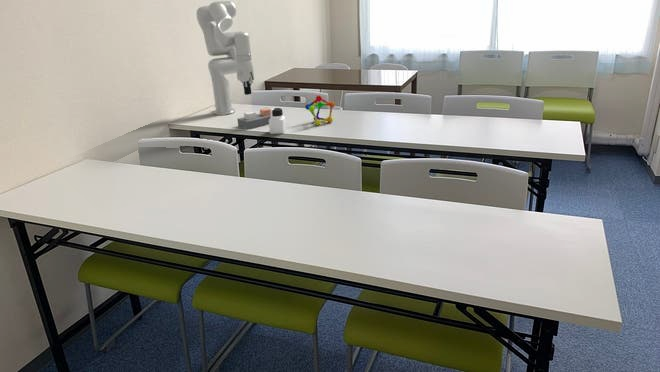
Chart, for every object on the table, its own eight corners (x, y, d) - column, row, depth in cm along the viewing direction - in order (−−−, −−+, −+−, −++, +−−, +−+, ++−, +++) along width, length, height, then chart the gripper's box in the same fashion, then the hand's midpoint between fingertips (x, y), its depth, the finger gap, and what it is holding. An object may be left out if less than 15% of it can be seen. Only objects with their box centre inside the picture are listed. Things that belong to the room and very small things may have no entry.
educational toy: (319, 119, 270) (320, 92, 265) (336, 123, 261) (337, 95, 256) (298, 123, 259) (298, 94, 254) (315, 127, 251) (315, 98, 246)
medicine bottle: (286, 129, 250) (284, 106, 246) (283, 133, 244) (281, 110, 239) (272, 129, 251) (270, 107, 246) (269, 133, 244) (267, 110, 240)
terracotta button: (260, 116, 266) (259, 109, 264) (267, 115, 268) (266, 107, 267) (265, 118, 262) (264, 110, 261) (271, 116, 265) (271, 109, 263)
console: (238, 125, 261) (237, 118, 260) (269, 118, 273) (268, 111, 271) (248, 129, 254) (247, 121, 253) (279, 121, 266) (278, 114, 264)
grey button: (244, 120, 260) (243, 112, 258) (251, 118, 262) (251, 111, 261) (249, 121, 256) (248, 114, 255) (256, 120, 259) (255, 112, 258)
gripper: (230, 58, 250) (234, 93, 257) (245, 60, 239) (249, 97, 246) (242, 56, 254) (246, 91, 261) (258, 58, 244) (261, 94, 251)
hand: (248, 94), depth 254 cm, fingers closed
